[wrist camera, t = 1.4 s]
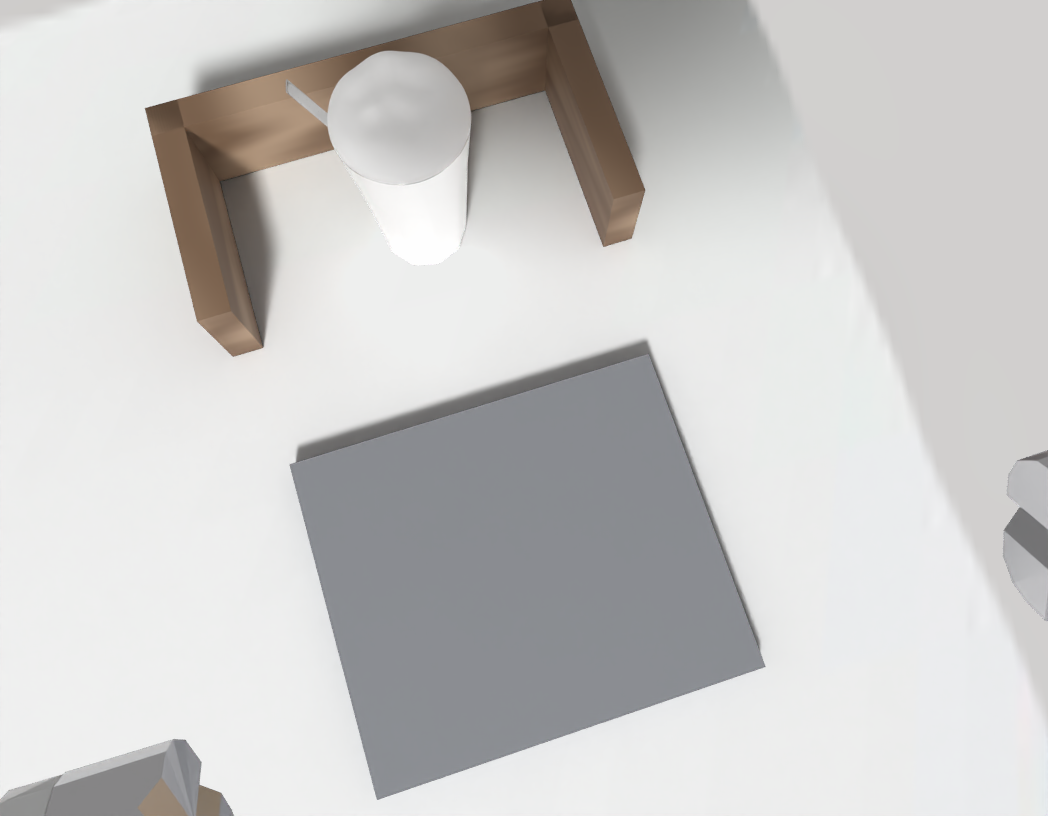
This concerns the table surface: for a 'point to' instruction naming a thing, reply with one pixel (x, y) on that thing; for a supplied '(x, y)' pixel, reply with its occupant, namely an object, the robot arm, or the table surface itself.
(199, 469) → the table surface
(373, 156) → the milkshake
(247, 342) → the walnut cubby
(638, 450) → the grey pad
